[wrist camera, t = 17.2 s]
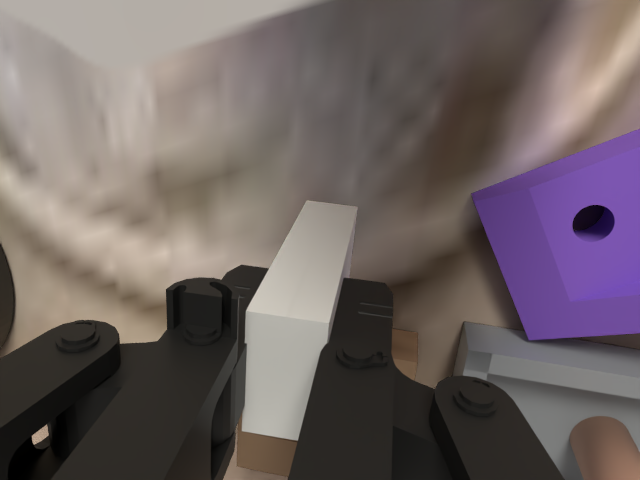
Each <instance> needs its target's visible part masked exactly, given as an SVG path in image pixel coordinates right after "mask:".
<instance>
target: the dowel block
mask: <svg viewBox="0 0 640 480" xmlns="http://www.w3.org/2000/svg"><path fill="white" fill-rule="evenodd" d="M391 354H392V357H393V360H394V364H395V365H396V367H397V368H398V369H399V370H400V371H401V372H402V373H403V374H404V375H406V376H407V377H409V378H410V379H412V380H415V374H416V369H417V364H418V333H416V332H410V331H404V330H398V329H392V351H391ZM297 442H298V441H296V440H291V439H285V438H279V437H273V436H267V435H261V434H256V433H250V432H244V431H242V414H241V416H240V418H239V421H238V441H237V466H238V467H243V468H248V469H253V470H257V471H262V472H267V473H272V474H277V475H282V476H287V477H289V473H290V469H291V465H292V461H293V457H294V454H295V450H296V446H297Z"/></svg>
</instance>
